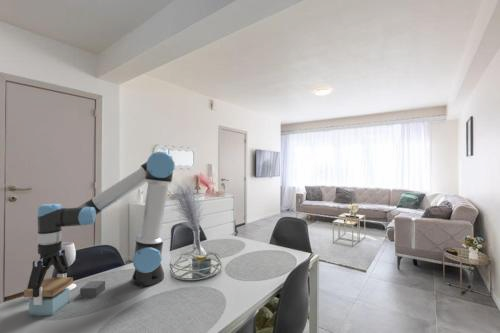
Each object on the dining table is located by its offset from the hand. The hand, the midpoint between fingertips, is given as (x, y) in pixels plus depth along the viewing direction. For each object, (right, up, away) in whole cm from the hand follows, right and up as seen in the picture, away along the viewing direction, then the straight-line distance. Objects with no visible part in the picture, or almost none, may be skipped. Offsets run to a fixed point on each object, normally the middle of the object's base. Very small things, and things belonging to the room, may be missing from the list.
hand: (50, 296), depth 100 cm
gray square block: (+10, -5, +12) cm, 16 cm away
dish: (0, -5, 0) cm, 5 cm away
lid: (0, +3, 0) cm, 3 cm away
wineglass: (-6, -5, +17) cm, 19 cm away
